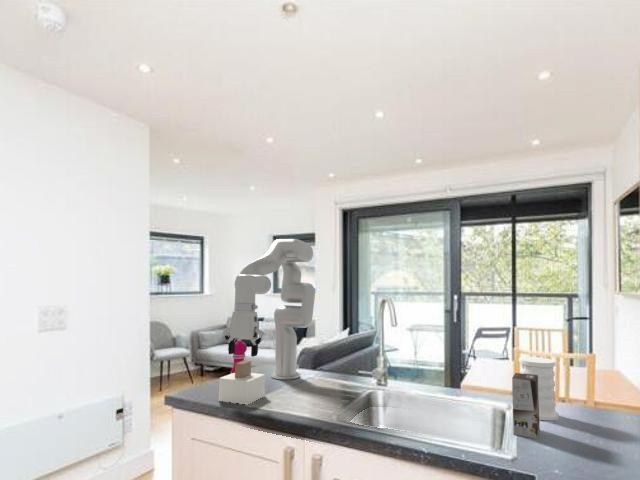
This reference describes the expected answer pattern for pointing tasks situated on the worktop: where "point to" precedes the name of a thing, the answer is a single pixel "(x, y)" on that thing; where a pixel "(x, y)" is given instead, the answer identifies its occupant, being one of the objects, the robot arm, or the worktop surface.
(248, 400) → the cover
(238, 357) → the pepper mill
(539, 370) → the decorative container
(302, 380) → the worktop surface
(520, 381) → the coffee box
